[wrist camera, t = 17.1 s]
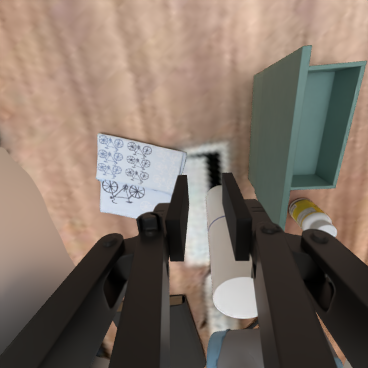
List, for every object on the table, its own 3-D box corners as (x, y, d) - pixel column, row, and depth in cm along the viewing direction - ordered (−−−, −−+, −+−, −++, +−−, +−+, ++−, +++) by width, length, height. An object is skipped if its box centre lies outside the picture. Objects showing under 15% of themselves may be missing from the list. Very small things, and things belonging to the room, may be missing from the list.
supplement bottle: (316, 211, 45) (345, 239, 36) (292, 221, 47) (315, 250, 38) (308, 193, 44) (336, 217, 35) (284, 203, 45) (305, 229, 36)
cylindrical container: (224, 179, 44) (253, 267, 21) (242, 201, 46) (286, 304, 23) (199, 196, 46) (200, 293, 23) (217, 217, 48) (234, 325, 25)
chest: (337, 67, 34) (367, 60, 28) (315, 175, 42) (335, 188, 36) (253, 75, 36) (265, 70, 30) (248, 178, 43) (256, 191, 37)
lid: (312, 44, 16) (302, 46, 16) (282, 247, 23) (275, 246, 24) (268, 69, 29) (263, 70, 29) (258, 192, 37) (254, 192, 37)
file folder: (107, 314, 59) (185, 305, 56) (112, 301, 63) (185, 292, 60) (141, 373, 71) (206, 369, 68) (144, 359, 75) (206, 355, 72)
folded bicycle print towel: (188, 150, 42) (187, 153, 40) (170, 226, 50) (169, 232, 48) (100, 130, 41) (95, 131, 39) (96, 210, 50) (92, 214, 48)
